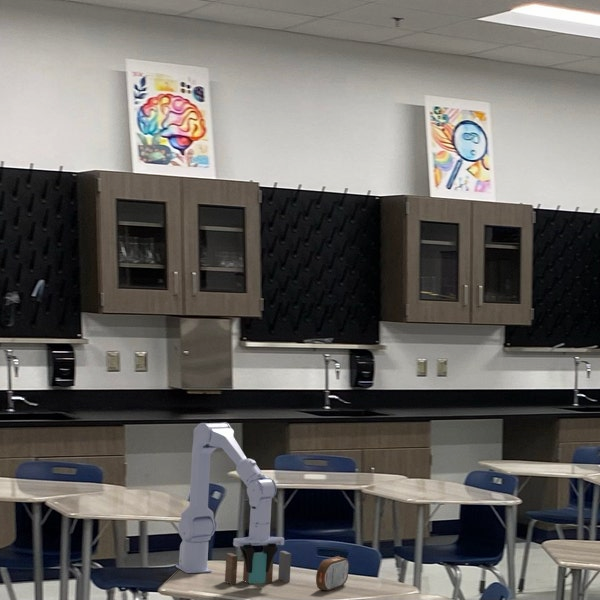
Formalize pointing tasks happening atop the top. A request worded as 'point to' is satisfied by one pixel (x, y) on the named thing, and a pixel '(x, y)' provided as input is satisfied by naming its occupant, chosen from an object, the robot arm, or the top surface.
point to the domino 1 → (231, 568)
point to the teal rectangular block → (258, 568)
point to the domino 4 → (284, 566)
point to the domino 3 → (269, 573)
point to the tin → (332, 573)
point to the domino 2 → (245, 574)
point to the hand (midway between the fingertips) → (257, 571)
